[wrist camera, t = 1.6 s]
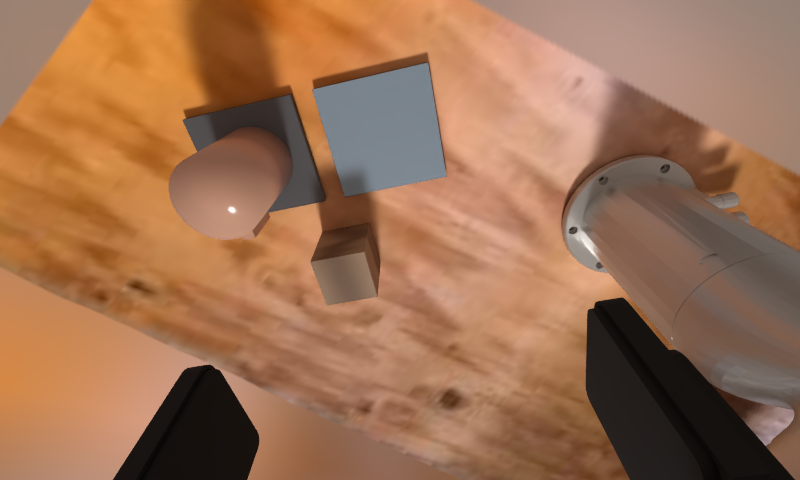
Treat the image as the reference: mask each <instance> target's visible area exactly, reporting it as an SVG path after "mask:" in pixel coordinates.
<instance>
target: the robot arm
mask: <svg viewBox="0 0 800 480" xmlns="http://www.w3.org/2000/svg"><path fill="white" fill-rule="evenodd" d="M600 178H601V179H600ZM738 203H739V197H738V195H737V194H736V193H735V192H729V193H724V194H718V195H716V196H711V197H710V196H708V195H707V194H705V193H703V192H701V191H699V190H697V189H696V185H695V183H694V181H693V179H692V177H691V175H690V174H689V173H688V172H687V171H686V170H685V169H684V168H683V167H682V166H680V165H678V164H676V163H675V162H673V161H671V160H668V159H666V158H663V157H659V156H654V155H634V156H629V157H624V158H621V159H618V160H616V161H613V162H610V163H609V164H607V165H605V166H603V167H601V168H600V169H598V170H597V171H595V172H594V173H593V174H591V175H590V176H589V177H587V178H586V179H585V180H584V181H583V182H582V184H581V185H580V186H579V187H578V188H577V189H576V191H575V192H574V193H573V195H572V196H571V198H570V200H569V202H568V204H567V206H566V208H565V211H564V215H563V219H562V234H563V239H564V242H565V244H566V246H567V249H568V250H569V251H570V253H571V254H572V255H573V257H574V258H575V259H576V260H577V261H578V262H579V263H581V264H582V265H584V266H586V267H587V268H589V269H592V270H594V271H598V272H604V273H609V274H610V275H611V276H612V277H613V278H614V279H615V281H616V282H617V283H618V284H619V285H620V286H621V287H622V289H623V290H624V291H625V292H626V293H627V294H628V295H629V297H630V298H631V299H632V300H633V301H634V302H635V303H636V305H637V306H638V307H639V308H640V309H641V310H642V311H643V313H644V314H645V315H646V316H647V317H648V318H649V319H650V321H651V322H652V323H653V324H654V325H655V326H656V327H657V329H658V330H659V331H660V332H661V333H662V334H663V335H664V337H665V338H666V339H667V340H668V341H669V342H670V343H671V345H672V346H673V347H674V348H675V349H676V350H668V349H667V348H666V346H665V345H664V344H663V343H662V342H661V341H660V339H659V338H658V337H657V336H656V335H655V334H654V332H653V331H652V330H651V329H650V328H649V326H648V325H647V324H646V323H645V322H644V321H643V319H642V318H641V317H640V316H639V315H638V314H637V312H636V311H635V310H634V309H633V308H632V306H631V305H630V304H629V303H628V302H627V301H626V300H625V299H624V298H616V299H610V300H604V301H598V302H596V303H595V306H594V309H589V310H588V314H587V355H586V391H587V395H588V398H589V400H590V403H591V405H592V407H593V408H594V410H595V412H596V414H597V416H598V418H599V420H600V422H601V424H602V426H603V428H604V430H605V432H606V434H607V436H608V438H609V439H610V441H611V443H612V445H613V447H614V449H615V451H616V453H617V455H618V457H619V459H620V461H621V463H622V465H623V467H624V469H625V471H626V472H627V474H628V476H629V478H630V480H800V251H798V250H796V249H794V248H792V247H791V246H789V245H787V244H785V243H783V242H781V241H780V240H778V239H776V238H774V237H772V236H770V235H768V234H767V233H765V232H763V231H761V230H759V229H757V228H756V227H754V226H752V225H750V220H749V218H748V216H747V215H746V214H745V213H744V212H741V211H738V212H733V213H728V212H726V211H724V210H722V209H725V208H731V207H735V206H737V205H738ZM710 383H711V384H712V385H714V386H716V387H718V388H719V389H721V390H723V391H725V392H727V393H730V394H732V395H735V396H737V397H740V398H743V399H747V400H750V401H754V402H758V403H762V404H767V405H771V406H776V407H781V408H786V409H791V410H794V413H795V414H794V419H793V421H792V422H791V424H790V425H789V426H788V427H787V428H786V429H784V430H783V431H782V432H781V433H780V434H779V435H777V436H776V437H775V438H774V439H773V440H772V441H771V443H770V444H768V445H767V446H765V445H764V444H763V443H762V442H761V441H760V439H759V438H758V437H757V436H756V435H755V434H754V433H753V432H752V430H751V429H750V428H749V427H748V426H747V425H746V424H745V422H744V421H743V420H742V419H741V418H740V417H739V416H738V415H737V413H736V412H735V411H734V410H733V409H732V408H731V407H730V406H729V404H728V403H727V402H726V401H725V400H724V399H723V398H722V397H721V395H720V394H719V393H718V392H717V391H716V390H715V389H714V388H713V386H712V385H711V384H710ZM258 446H259V435H258V432H257V430H256V429H255V427H254V426H253V424H252V422H251V420H250V419H249V417H248V416H247V414H246V412H245V411H244V409H243V408H242V406H241V404H240V403H239V401H238V399H237V397H236V396H235V394H234V393H233V391H232V389H231V388H230V386H229V384H228V383H227V381H226V380H225V378H224V376H223V375H222V373H221V372H220V370H218V369H215V368H214V367H213V366H212V365H203V366H197V367H191V368H187V369H186V370H184V371H183V372H182V374H181V375H180V377H179V379H178V380H177V381H176V383H175V384H174V386H173V388H172V389H171V391H170V392H169V394H168V395H167V397H166V399H165V400H164V402H163V403H162V405H161V406H160V408H159V409H158V411H157V412H156V414H155V415H154V417H153V419H152V420H151V422H150V423H149V425H148V426H147V428H146V429H145V431H144V433H143V434H142V436H141V437H140V439H139V440H138V442H137V443H136V445H135V446H134V448H133V449H132V451H131V453H130V454H129V456H128V457H127V459H126V460H125V462H124V464H123V465H122V466H121V468H120V470H119V471H118V473H117V474H116V476H115V477H114V479H113V480H247V479H248V476H249V473H250V470H251V467H252V464H253V461H254V458H255V455H256V452H257V449H258Z"/></svg>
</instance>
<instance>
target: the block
mask: <svg viewBox="0 0 800 480" xmlns="http://www.w3.org/2000/svg"><path fill="white" fill-rule="evenodd" d="M311 265H312V267H313V270H314V273H315V275H316V278H317V280H318V283H319V286H320V288H321V291H322V294H323V296H324V299H325V301H326V304H327V305H332V304H338V303H344V302H349V301H355V300H361V299H367V298H372V297H377V296H378V285H379V274H380V260H379V257H378V253H377V250H376V246H375V243H374V239H373V235H372V232H371V228H370V225H369V223H366V224H361V225H356V226H351V227H346V228H340V229H335V230H330V231H325V232H322V234H321V237H320V239H319V242H318V244H317V247H316V249H315V252H314V254H313V257H312V259H311Z"/></svg>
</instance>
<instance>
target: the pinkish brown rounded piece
mask: <svg viewBox="0 0 800 480" xmlns="http://www.w3.org/2000/svg"><path fill="white" fill-rule="evenodd" d="M292 173H293V161H292V157H291V154H290V152H289V150H288V148H287V146H286V145H285V144H284V142H283V141H282V140H281V139H280V138H279V137H278V136H276V135H275V134H274V133H272V132H270V131H268V130H266V129H263V128H260V127H254V126H248V127H242V128H239V129H237V130H235V131H233V132H231V133H230V134H228V135H226V136H224V137H223V138H221V139H219V140H217V141H216V142H214V143H212V144H211V145H209V146H207V147H205V148H204V149H202V150H200V151H198V152H197V153H195V154H193V155H192V156H190V157H188V158H186V159H185V160H183V161H182V162H180V163H179V164H178V165H177V166H176V167H175V169H174V170H173V172H172V174H171V177H170V180H169V194H170V199H171V202H172V204H173V206H174V209H175V210H176V212H177V213H178V215H179V216H180V217H181V218H182V220H183V221H184V222H185V223H186V224H188V225H189V226H190V227H191V228H193V229H194V230H196V231H197V232H199V233H201V234H203V235H206V236H208V237H211V238H216V239H223V240H230V239H236V238H240V237H243V239H244V240H247V239H252V238H256V236H257V235H258V234H259V232H260V231H261V229H262V228H263V227H264V225H265V224H266V222H267V221H268V220H269V218H270V216H269V213H268V210H269V209H270V207H271V206H272V205H273V203H274V202H275V201H276V199H277V198H278V197H279V195H280V194H281V193H282V191H283V190H284V189H285V187H286V186H287V185H288V183H289V181H290V179H291V177H292Z"/></svg>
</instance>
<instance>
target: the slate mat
mask: <svg viewBox="0 0 800 480" xmlns="http://www.w3.org/2000/svg"><path fill="white" fill-rule="evenodd" d="M313 94H314V97H315V100H316V104H317V107H318V110H319V114H320V117H321V120H322V124H323V127H324V130H325V133H326V137H327V140H328V143H329V147H330V150H331V153H332V157H333V160H334V163H335V167H336V170H337V173H338V176H339V180H340V183H341V186H342V190H343V193H344V196H345V197H347V196H352V195H357V194H362V193H367V192H372V191H377V190H382V189H387V188H392V187H397V186H402V185H407V184H412V183H417V182H422V181H427V180H432V179H437V178H442V177H447V176H446V170H445V164H444V158H443V152H442V146H441V139H440V133H439V127H438V121H437V115H436V109H435V102H434V96H433V90H432V84H431V78H430V72H429V65H428V62H427V63H422V64H418V65H414V66H409V67H405V68H401V69H397V70H392V71H388V72H384V73H379V74H375V75H371V76H367V77H362V78H358V79H354V80H349V81H345V82H341V83H337V84H332V85H328V86H324V87H319V88H315V89H313Z"/></svg>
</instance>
